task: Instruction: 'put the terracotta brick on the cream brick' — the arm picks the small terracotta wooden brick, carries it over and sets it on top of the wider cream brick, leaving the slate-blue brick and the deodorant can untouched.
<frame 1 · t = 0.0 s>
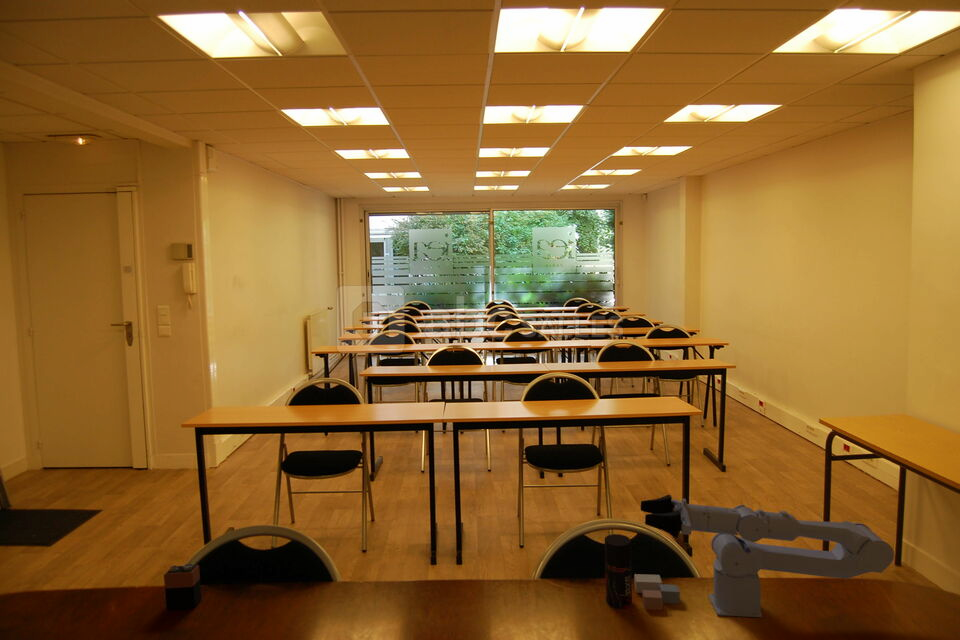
hand: (643, 512, 131), 22 cm above the table, tool horizontal, fingers open, 7 cm apart
deodorant: (619, 602, 134), on the table
slate brick: (669, 600, 134), on the table
battery: (184, 605, 140), on the table
cream brick: (648, 590, 138), on the table
terracotta brick: (652, 606, 131), on the table
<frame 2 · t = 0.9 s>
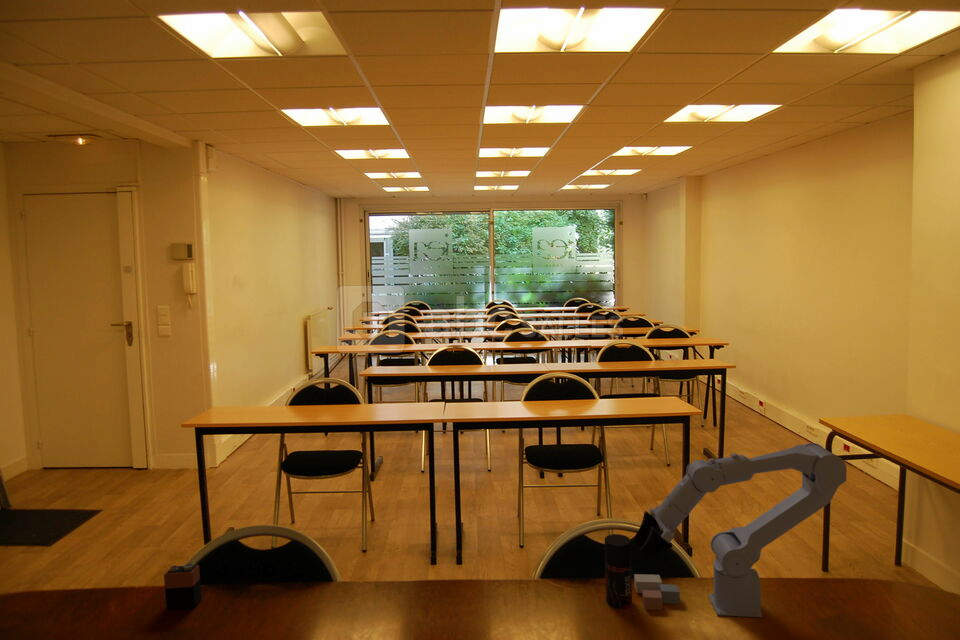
hand: (639, 550, 131), 13 cm above the table, tool tilted 40°, fingers open, 7 cm apart
nothing on the table moved.
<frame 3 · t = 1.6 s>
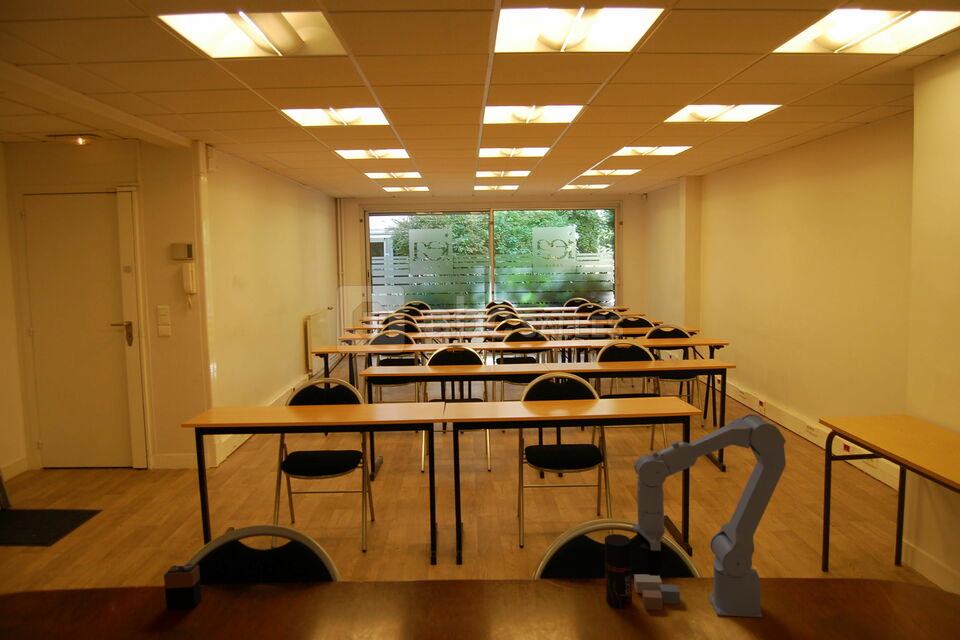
hand: (651, 566, 131), 9 cm above the table, tool pointing down, fingers open, 7 cm apart
nothing on the table moved.
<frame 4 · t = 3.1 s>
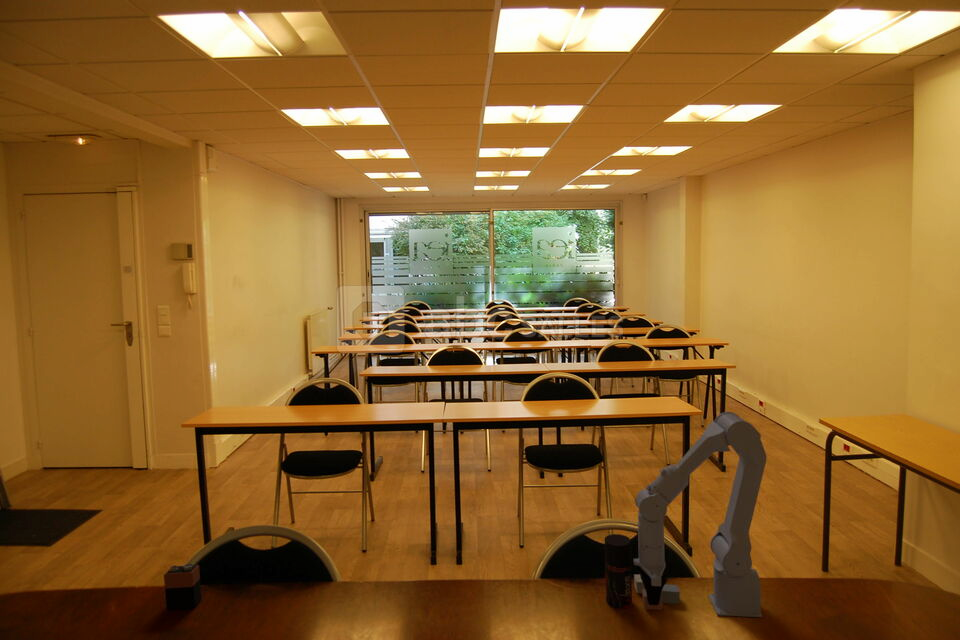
hand: (652, 599, 131), 1 cm above the table, tool pointing down, fingers closed on terracotta brick, 3 cm apart
terracotta brick: (652, 605, 131), on the table, touching gripper
everything else where it was.
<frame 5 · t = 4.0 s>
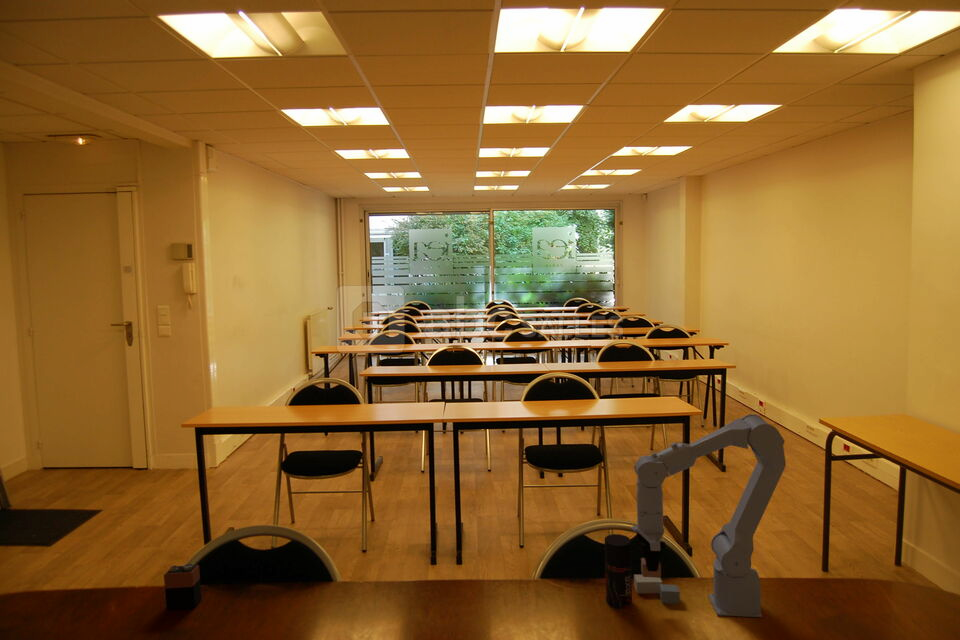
hand: (651, 566, 132), 9 cm above the table, tool pointing down, fingers closed on terracotta brick, 3 cm apart
terracotta brick: (650, 573, 132), point 7 cm above the table, touching gripper
everything else where it was.
when the fingers open (5 cm above the table, at t = 5.3 s): terracotta brick stays where it is, resting on cream brick.
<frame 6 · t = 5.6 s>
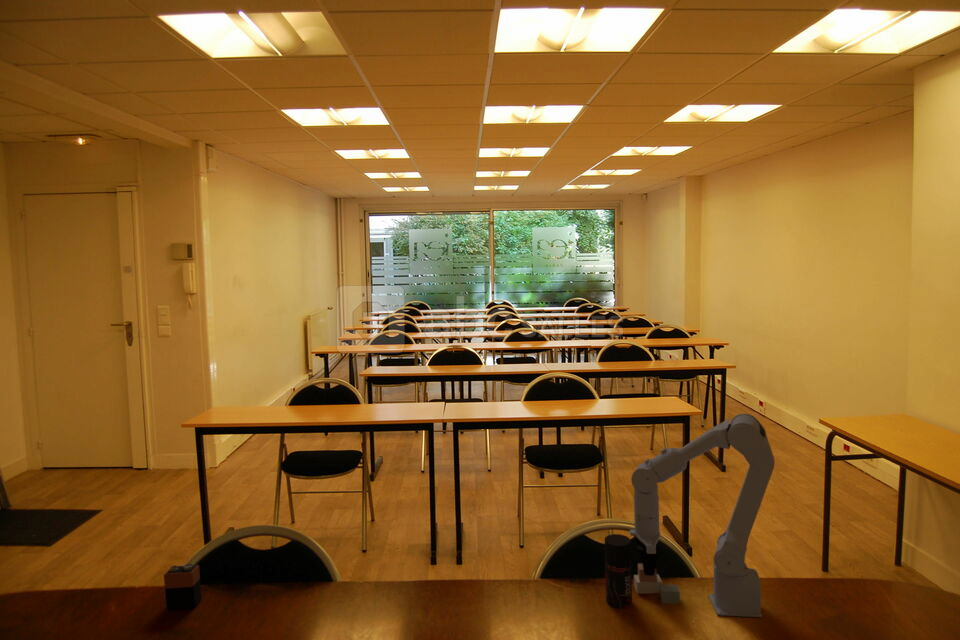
hand: (647, 568, 138), 5 cm above the table, tool pointing down, fingers open, 5 cm apart
cream brick: (648, 590, 138), on the table, touching terracotta brick
terracotta brick: (647, 578, 138), point 3 cm above the table, touching cream brick
everything else where it was.
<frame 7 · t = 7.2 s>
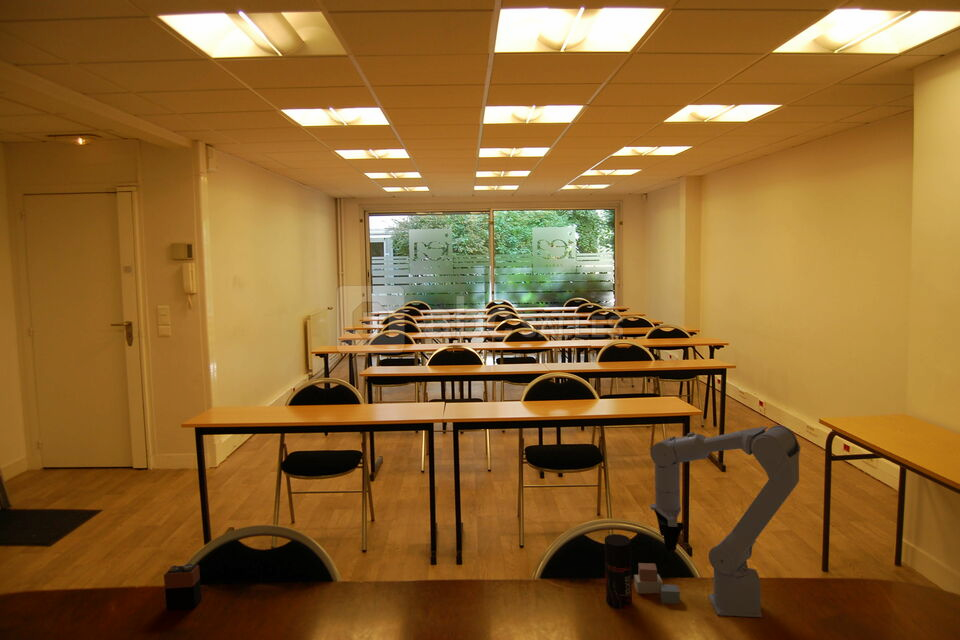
hand: (667, 542, 140), 10 cm above the table, tool pointing down, fingers open, 7 cm apart
nothing on the table moved.
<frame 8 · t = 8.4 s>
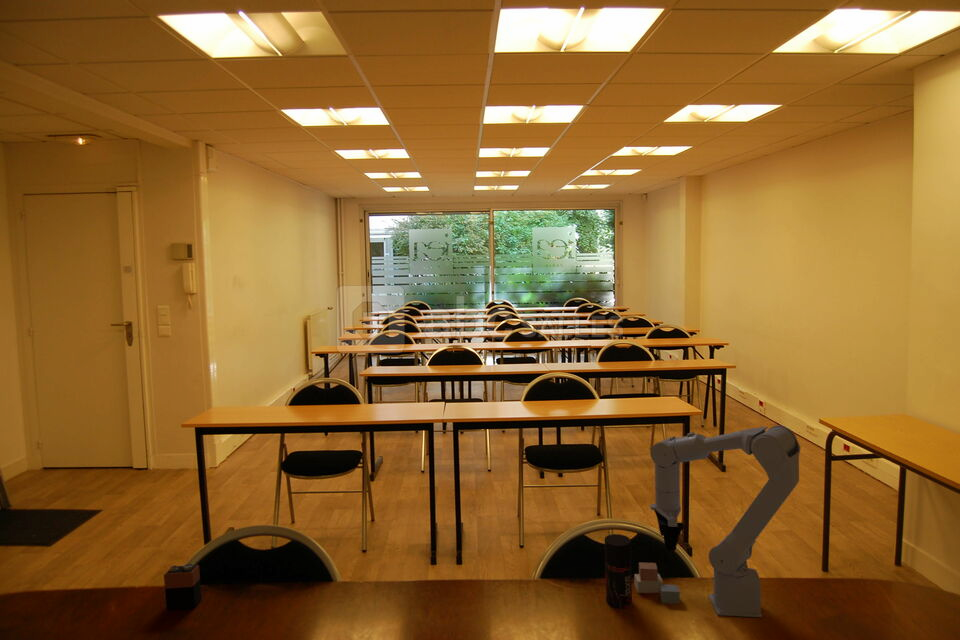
hand: (667, 542, 140), 10 cm above the table, tool pointing down, fingers open, 7 cm apart
nothing on the table moved.
at the end: terracotta brick 0.1 cm off-centre on the cream brick, point 3.0 cm above the cream brick's base; slate brick moved 0.2 cm from its start; deodorant moved 0.2 cm from its start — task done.
